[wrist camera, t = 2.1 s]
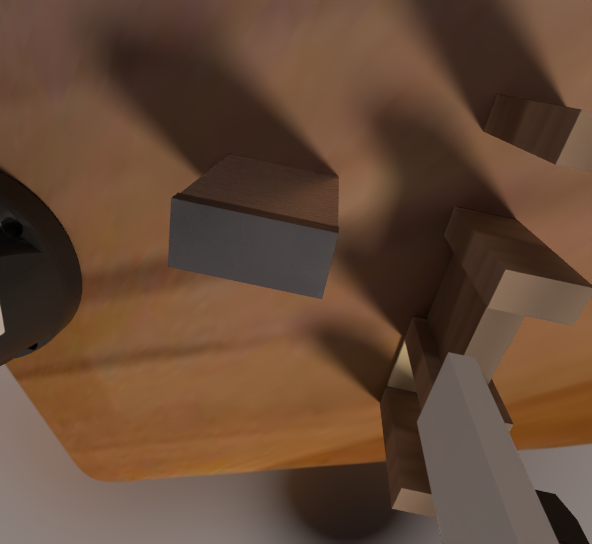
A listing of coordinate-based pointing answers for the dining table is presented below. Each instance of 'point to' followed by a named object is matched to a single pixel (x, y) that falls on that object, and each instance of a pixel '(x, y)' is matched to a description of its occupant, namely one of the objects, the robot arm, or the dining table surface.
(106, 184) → the dining table surface
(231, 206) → the bracket plate
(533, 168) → the dining table surface
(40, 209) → the robot arm
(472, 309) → the brown long notched block
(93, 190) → the dining table surface
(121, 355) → the dining table surface
